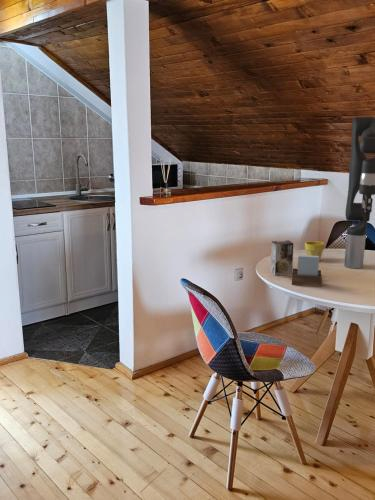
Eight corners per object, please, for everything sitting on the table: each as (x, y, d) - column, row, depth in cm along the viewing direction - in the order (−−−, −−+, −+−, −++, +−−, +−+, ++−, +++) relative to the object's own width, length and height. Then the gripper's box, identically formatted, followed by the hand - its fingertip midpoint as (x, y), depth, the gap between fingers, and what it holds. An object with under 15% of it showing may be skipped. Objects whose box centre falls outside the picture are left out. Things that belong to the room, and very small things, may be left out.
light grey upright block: (296, 279, 219) (298, 254, 216) (317, 281, 217) (318, 255, 214) (296, 281, 216) (298, 256, 213) (317, 283, 214) (318, 257, 211)
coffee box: (287, 271, 236) (289, 240, 233) (292, 275, 230) (294, 242, 226) (270, 272, 235) (271, 240, 231) (274, 276, 229) (276, 243, 225)
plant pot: (301, 258, 263) (302, 240, 261) (320, 258, 263) (321, 240, 261) (306, 262, 253) (308, 245, 251) (326, 262, 253) (327, 245, 251)
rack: (292, 277, 226) (292, 268, 225) (320, 279, 223) (320, 270, 222) (291, 284, 215) (292, 275, 214) (321, 286, 212) (321, 277, 211)
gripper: (358, 181, 216) (354, 216, 220) (361, 184, 203) (358, 221, 207) (375, 181, 214) (371, 216, 219) (380, 185, 201) (376, 222, 205)
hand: (365, 219), depth 213 cm, fingers open, 8 cm apart
